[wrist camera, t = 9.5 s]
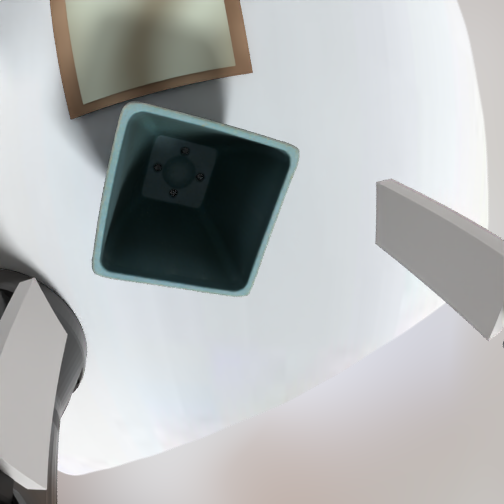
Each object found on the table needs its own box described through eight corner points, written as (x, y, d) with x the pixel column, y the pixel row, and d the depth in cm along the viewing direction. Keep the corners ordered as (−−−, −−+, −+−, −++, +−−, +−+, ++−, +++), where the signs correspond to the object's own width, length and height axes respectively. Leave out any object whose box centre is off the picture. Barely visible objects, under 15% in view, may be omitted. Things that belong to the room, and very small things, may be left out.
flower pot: (135, 98, 19) (123, 98, 12) (252, 128, 23) (305, 149, 15) (108, 214, 22) (90, 276, 15) (217, 234, 26) (248, 299, 18)
